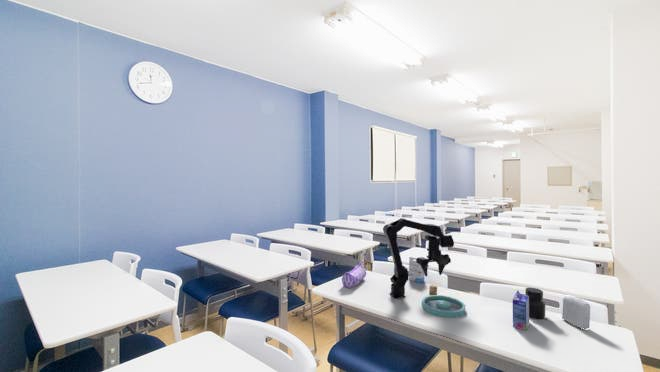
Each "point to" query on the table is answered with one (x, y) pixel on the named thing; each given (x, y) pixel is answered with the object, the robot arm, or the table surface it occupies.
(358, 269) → the pencil case
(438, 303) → the round tray
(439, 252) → the robot arm
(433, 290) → the wooden bead
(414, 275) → the ink box
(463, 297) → the table surface
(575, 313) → the photo printer
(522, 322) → the ink cartridge box
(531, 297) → the ink bottle
